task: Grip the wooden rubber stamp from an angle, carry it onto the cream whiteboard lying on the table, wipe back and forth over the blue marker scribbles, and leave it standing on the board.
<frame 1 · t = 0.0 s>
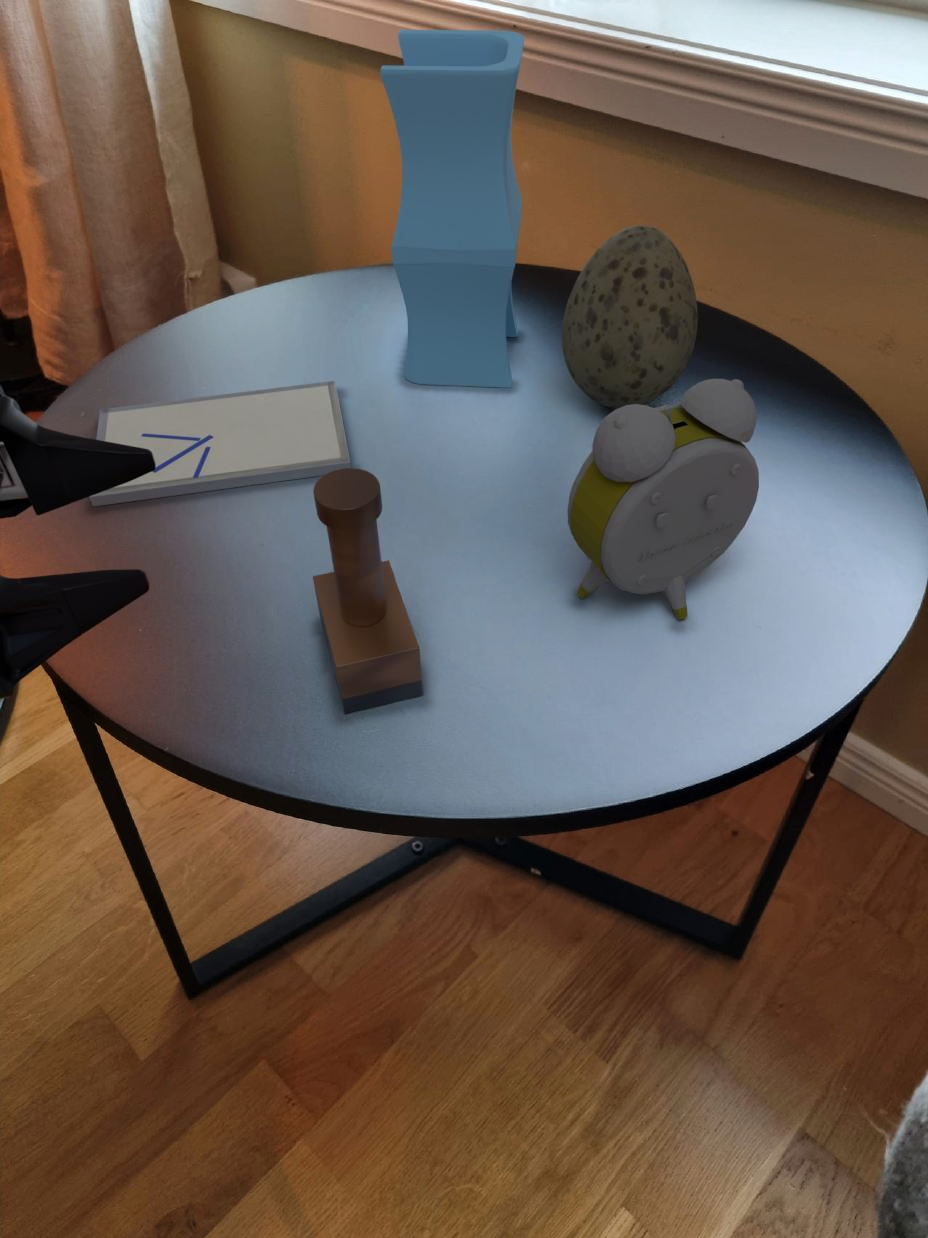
hand: (150, 515, 45), 16 cm above the table, tool horizontal, fingers open, 9 cm apart
board: (223, 444, 76), on the table
vase: (462, 358, 85), on the table
alarm clock: (653, 592, 63), on the table
decorative egg: (619, 401, 80), on the table
wooden rubber stamp: (370, 658, 60), on the table
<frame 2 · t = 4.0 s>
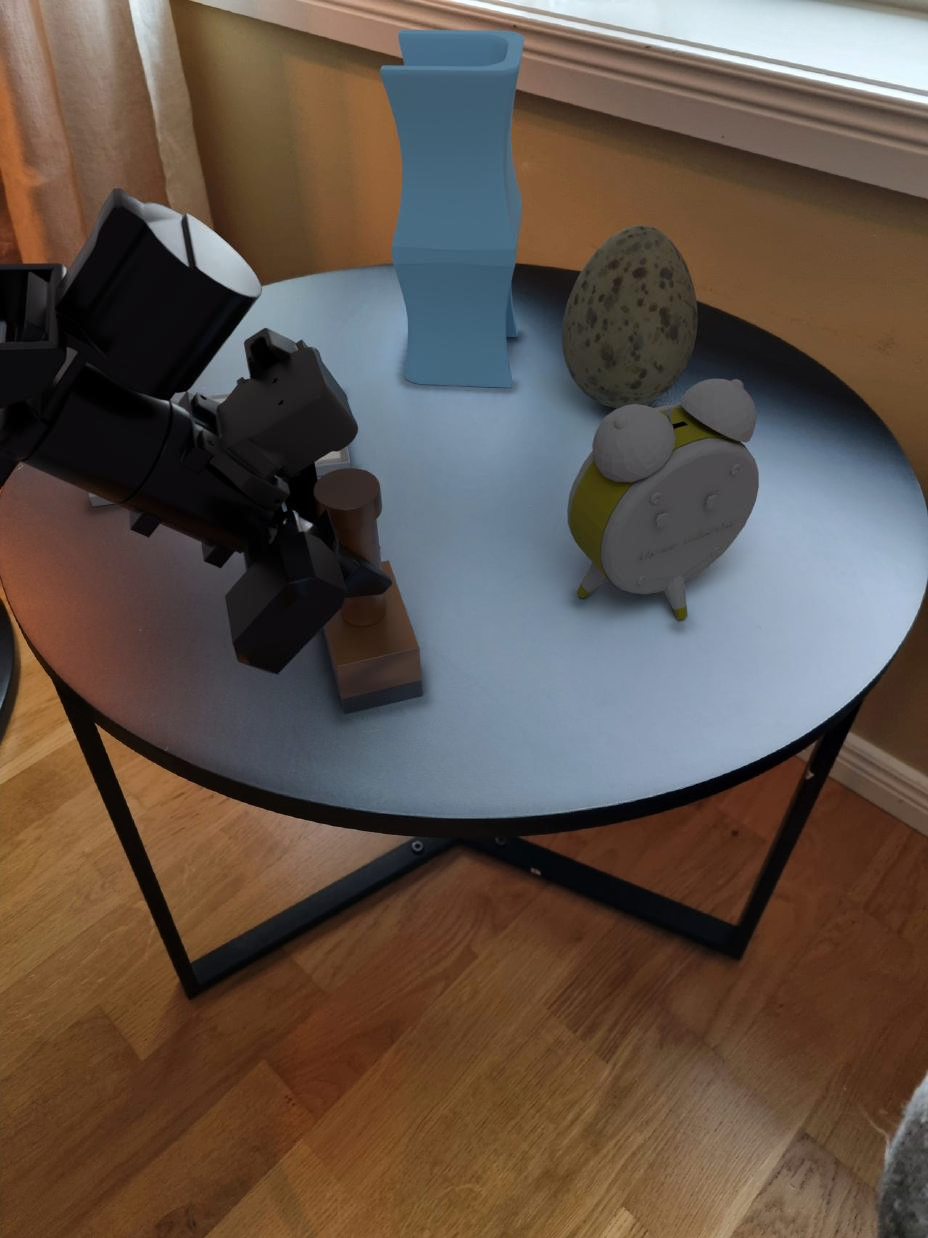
hand: (381, 569, 54), 8 cm above the table, tool tilted 45°, fingers closed on wooden rubber stamp, 3 cm apart
wooden rubber stamp: (370, 658, 60), on the table, touching gripper
everything else where it was.
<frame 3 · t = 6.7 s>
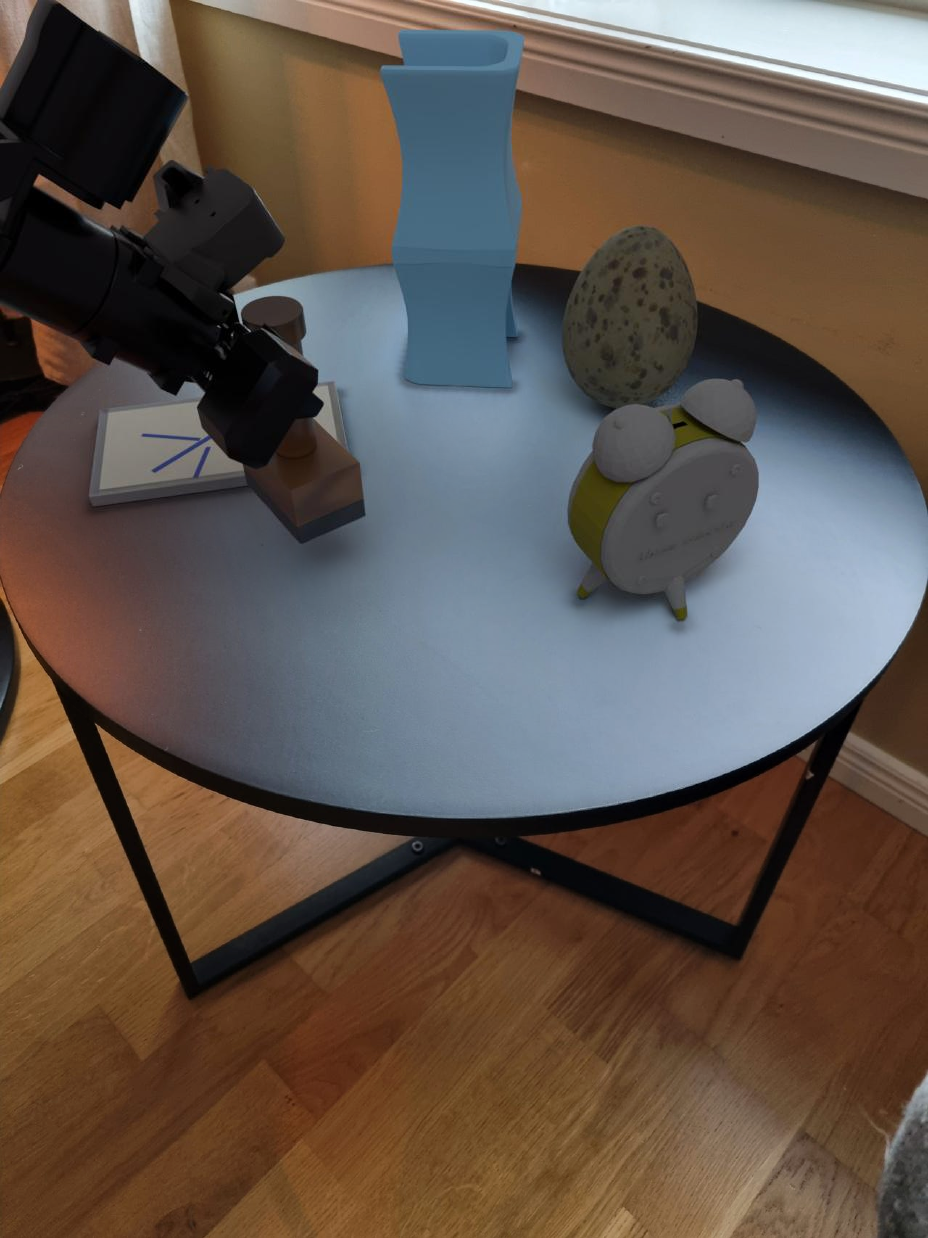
hand: (307, 398, 58), 12 cm above the table, tool tilted 45°, fingers closed on wooden rubber stamp, 3 cm apart
wooden rubber stamp: (305, 499, 63), point 5 cm above the table, touching gripper
everything else where it was.
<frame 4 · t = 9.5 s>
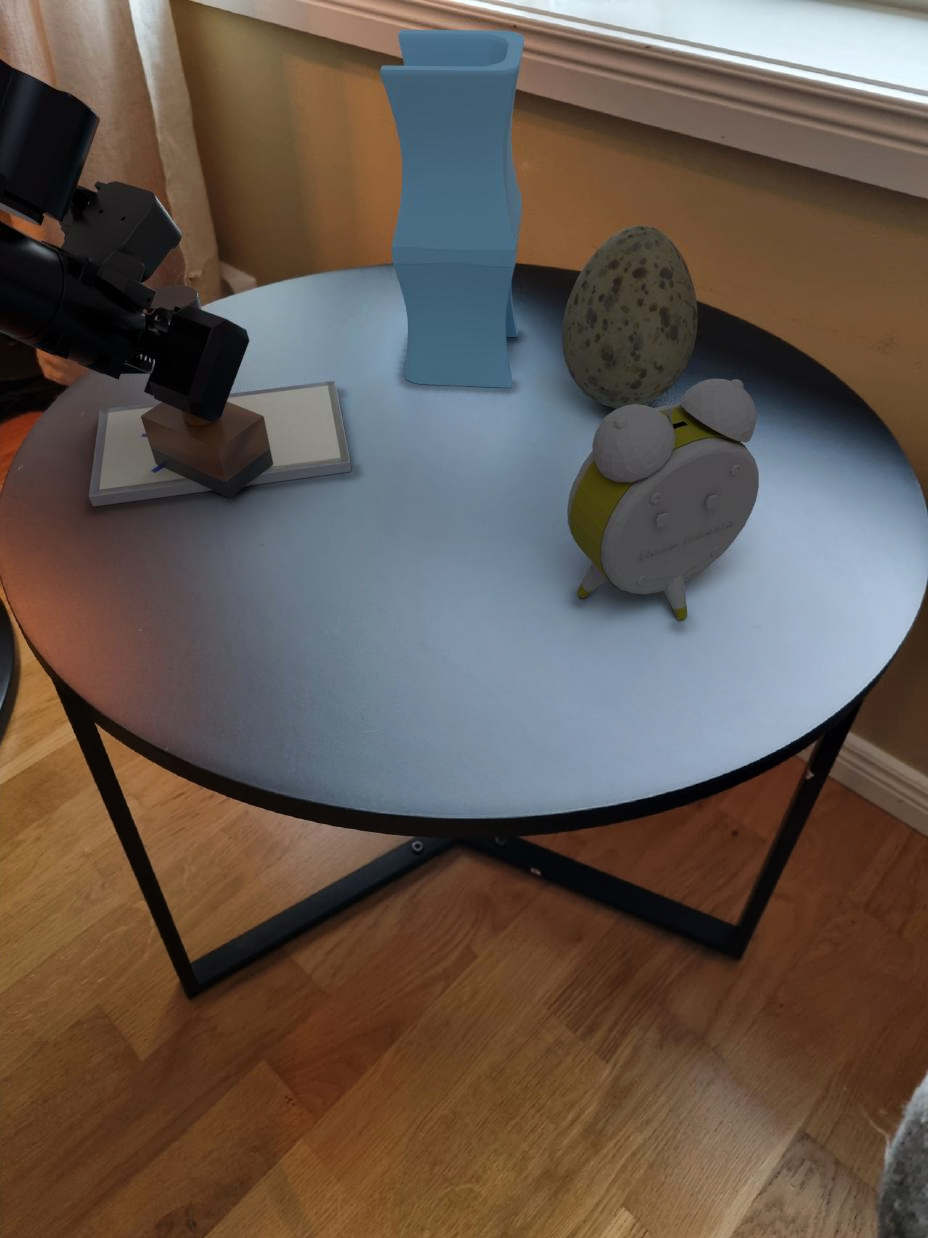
hand: (205, 371, 68), 9 cm above the table, tool tilted 45°, fingers closed on wooden rubber stamp, 3 cm apart
wooden rubber stamp: (214, 464, 73), point 1 cm above the table, touching board, gripper
everything else where it was.
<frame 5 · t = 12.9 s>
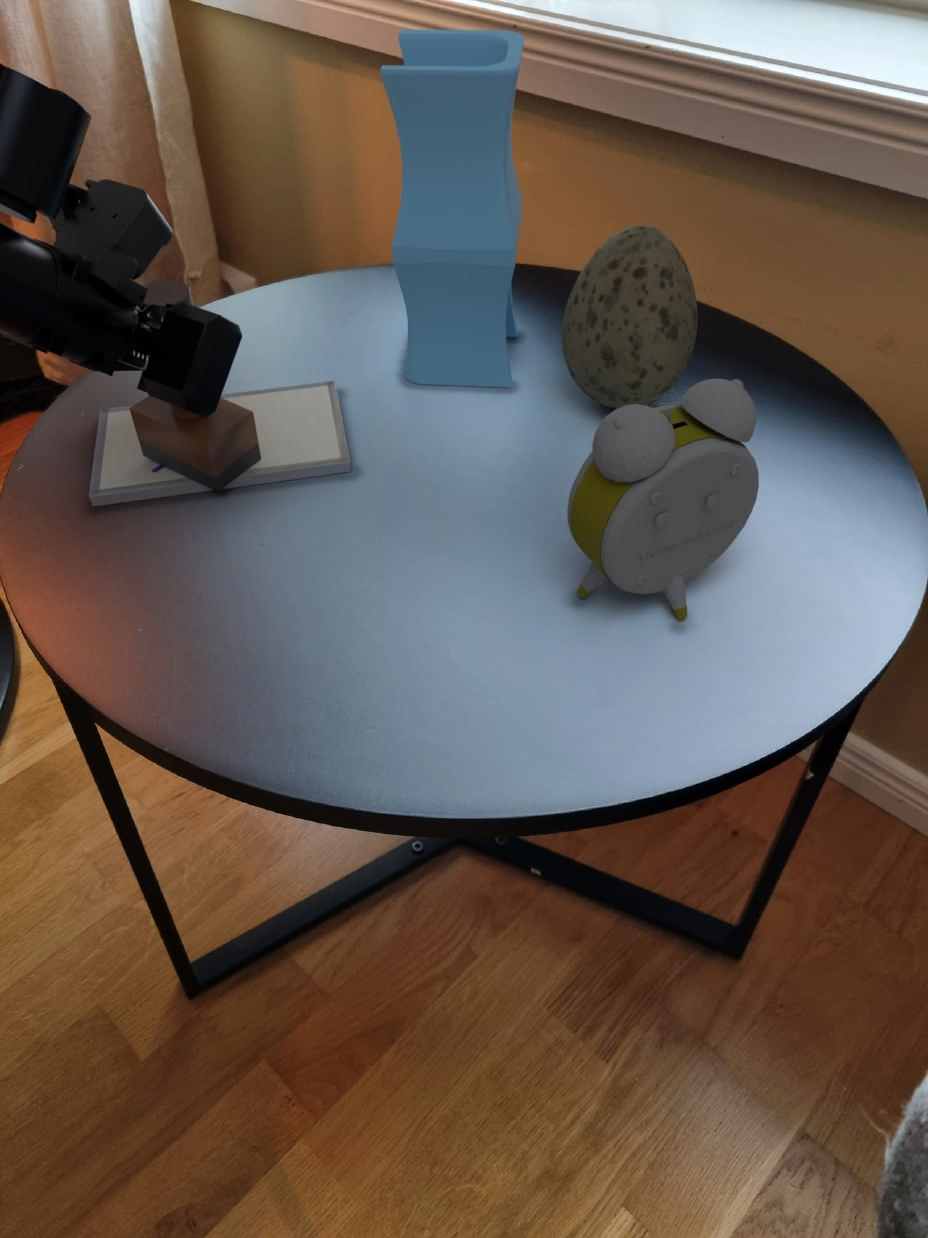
hand: (196, 368, 68), 9 cm above the table, tool tilted 45°, fingers closed on wooden rubber stamp, 3 cm apart
wooden rubber stamp: (202, 457, 73), point 1 cm above the table, touching board, gripper
everything else where it was.
when the fingers open (8 cm above the table, at t = 15.2 s): wooden rubber stamp stays where it is, resting on board.
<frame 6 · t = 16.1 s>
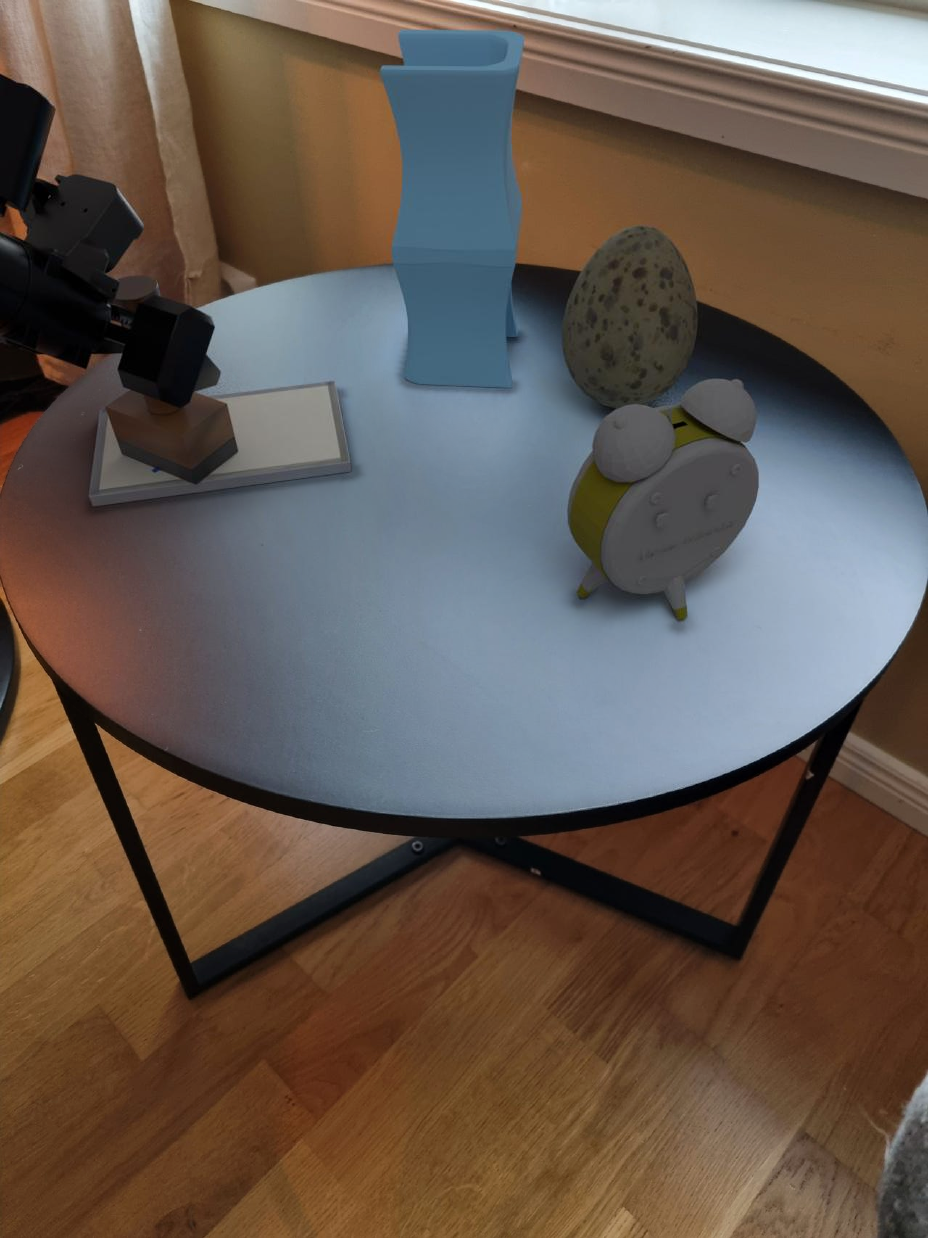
hand: (170, 361, 69), 9 cm above the table, tool tilted 45°, fingers open, 9 cm apart
wooden rubber stamp: (180, 452, 74), point 1 cm above the table, touching board
everything else where it was.
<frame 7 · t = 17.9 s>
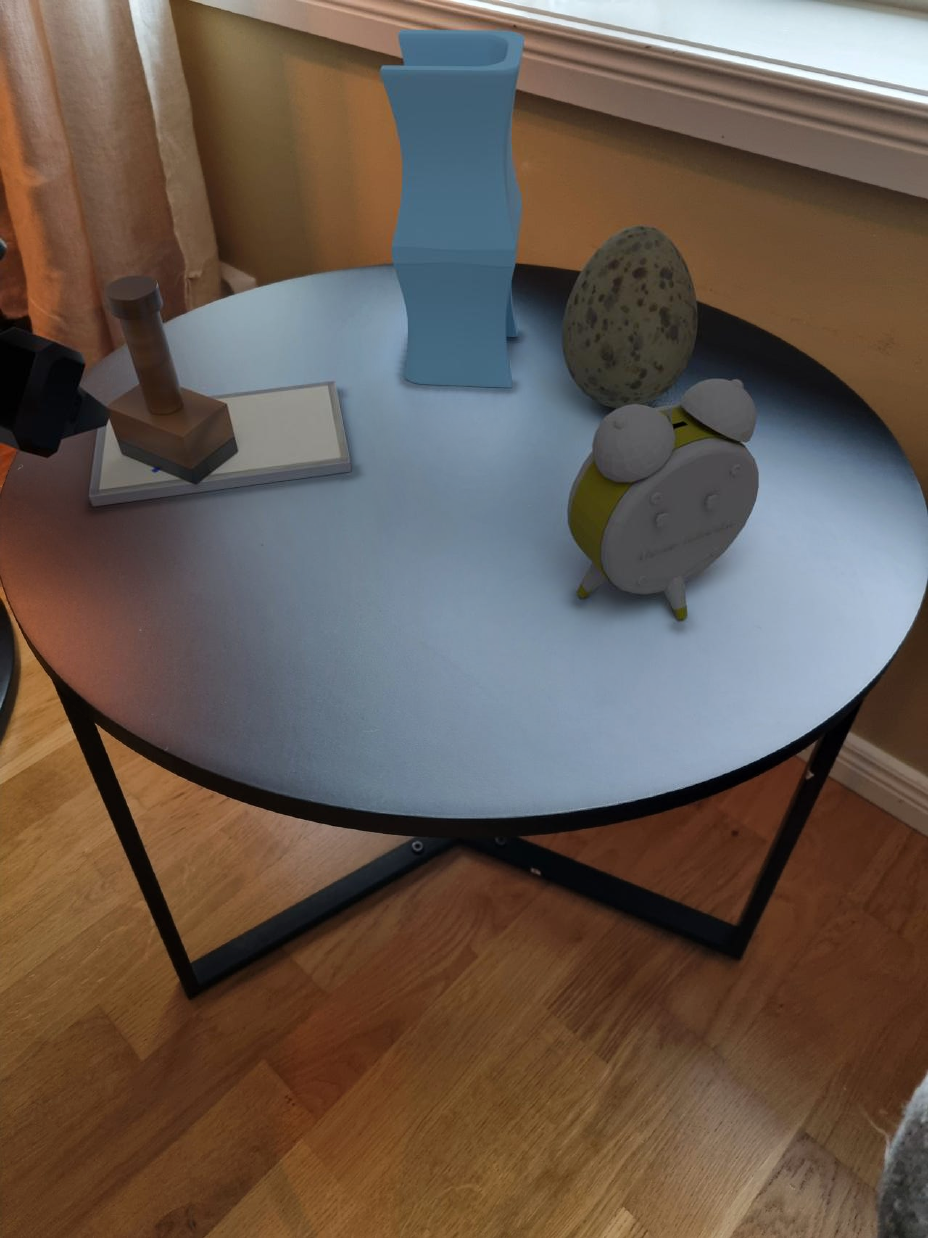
hand: (57, 398, 61), 11 cm above the table, tool tilted 45°, fingers open, 9 cm apart
nothing on the table moved.
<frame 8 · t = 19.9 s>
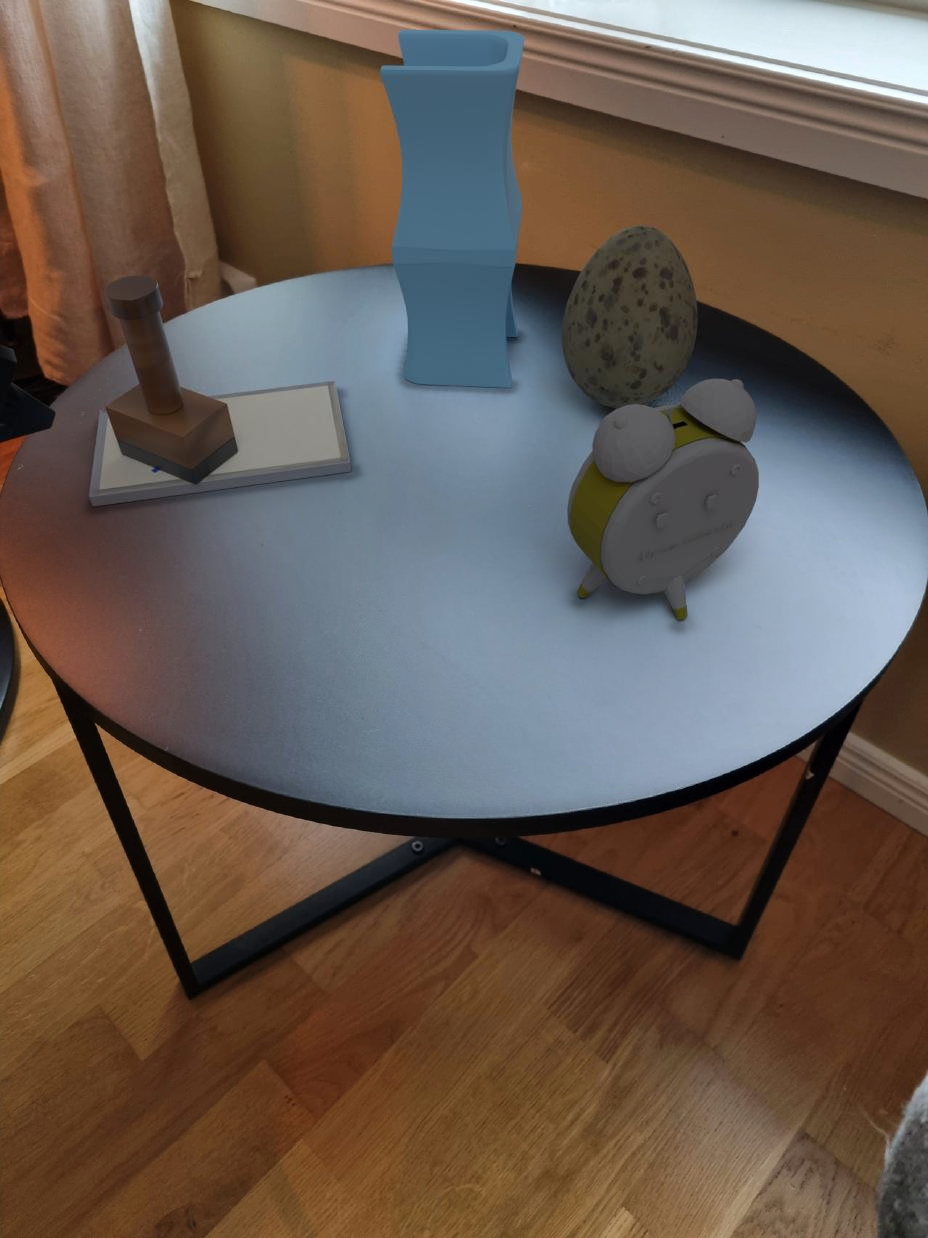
hand: (0, 398, 57), 14 cm above the table, tool tilted 45°, fingers open, 9 cm apart
nothing on the table moved.
at the end: wooden rubber stamp inside the target area on the board (3.7 cm from its centre), point 1.0 cm above the board's base; wooden rubber stamp tilted 0°; wooden rubber stamp touching board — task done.
